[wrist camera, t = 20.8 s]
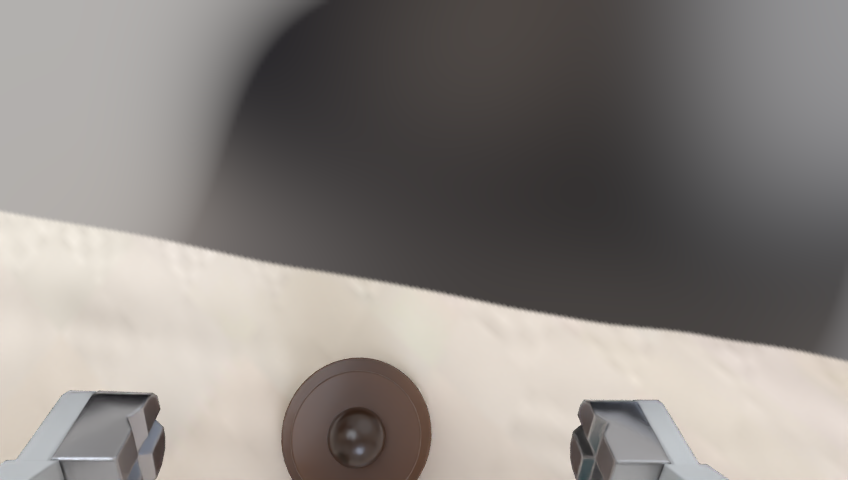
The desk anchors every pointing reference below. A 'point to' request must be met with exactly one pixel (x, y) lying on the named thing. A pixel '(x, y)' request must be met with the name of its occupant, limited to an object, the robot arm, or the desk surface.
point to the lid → (356, 424)
